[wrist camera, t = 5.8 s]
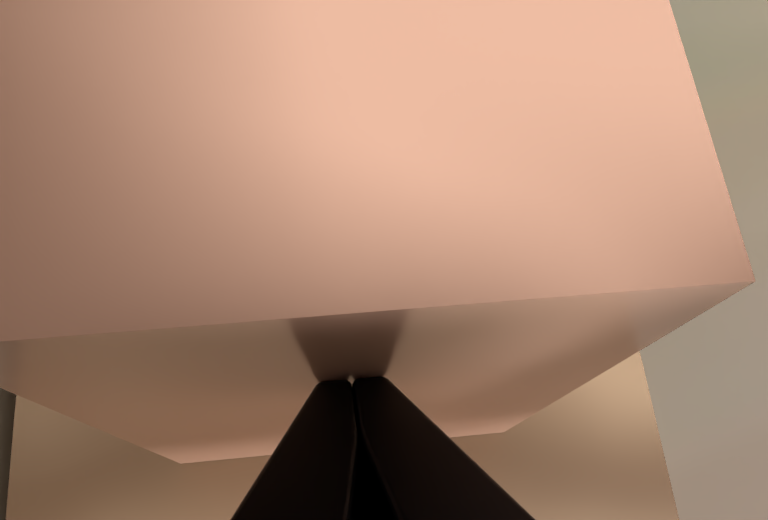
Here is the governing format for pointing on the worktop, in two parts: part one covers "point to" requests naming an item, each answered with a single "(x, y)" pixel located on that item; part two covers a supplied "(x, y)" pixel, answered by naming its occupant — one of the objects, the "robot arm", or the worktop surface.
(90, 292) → the terracotta block
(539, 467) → the tan wooden slab
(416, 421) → the robot arm
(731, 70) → the worktop surface
